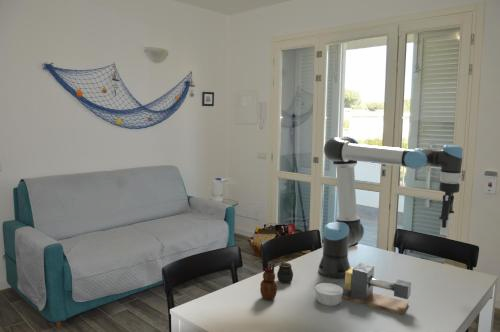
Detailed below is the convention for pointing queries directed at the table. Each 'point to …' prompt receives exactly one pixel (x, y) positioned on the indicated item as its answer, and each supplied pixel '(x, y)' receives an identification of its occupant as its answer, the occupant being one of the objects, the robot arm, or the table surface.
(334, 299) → the ramekin
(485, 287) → the table surface
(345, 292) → the pad
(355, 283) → the block
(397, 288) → the shaft
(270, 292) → the wooden figurine
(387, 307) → the walnut board
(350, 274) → the brass collar
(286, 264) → the mate gourd
